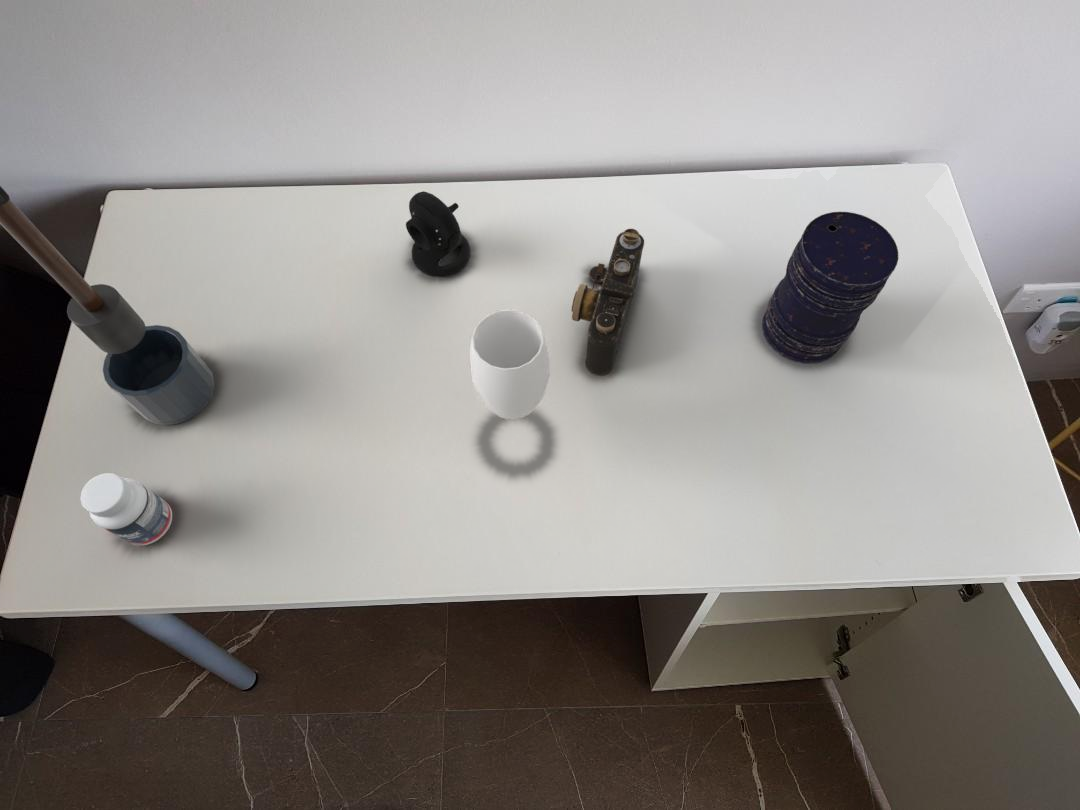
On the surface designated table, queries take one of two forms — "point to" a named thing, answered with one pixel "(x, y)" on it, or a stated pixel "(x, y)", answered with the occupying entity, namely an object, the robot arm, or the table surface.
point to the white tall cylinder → (509, 363)
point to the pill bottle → (126, 508)
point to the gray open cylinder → (161, 377)
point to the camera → (609, 301)
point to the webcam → (435, 235)
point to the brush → (79, 290)
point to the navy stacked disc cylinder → (828, 285)
